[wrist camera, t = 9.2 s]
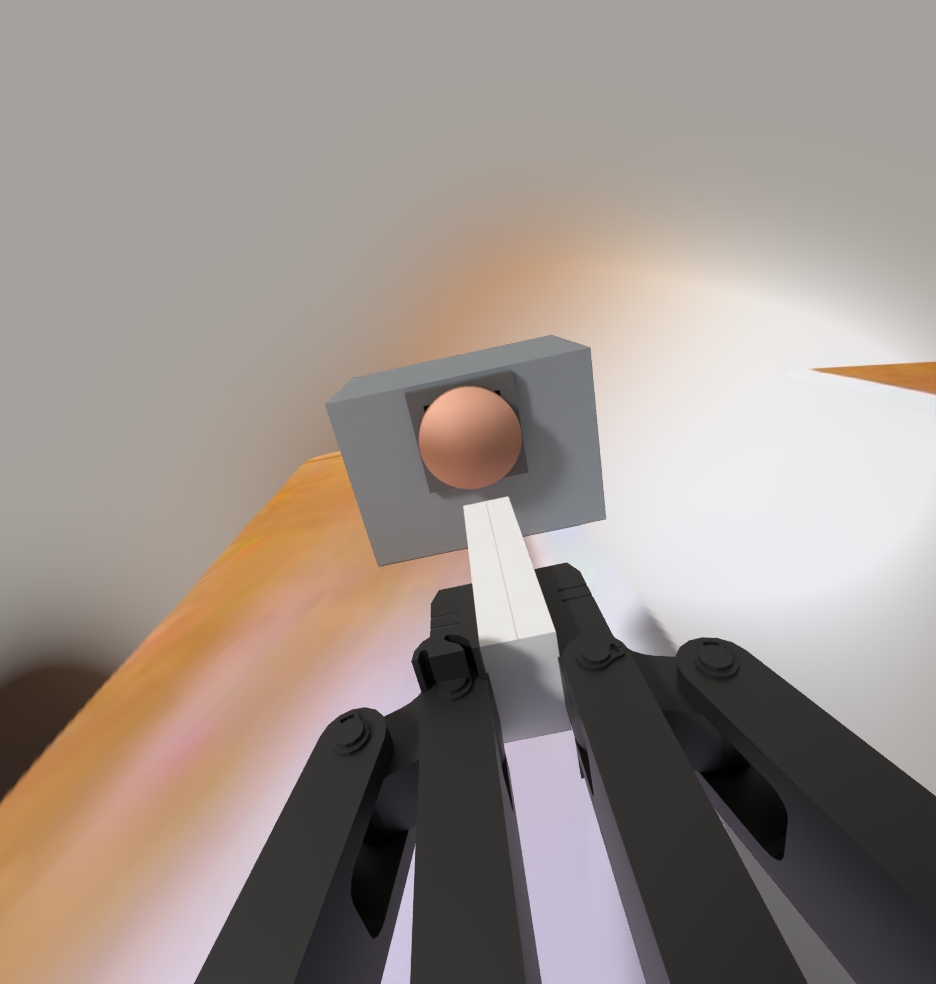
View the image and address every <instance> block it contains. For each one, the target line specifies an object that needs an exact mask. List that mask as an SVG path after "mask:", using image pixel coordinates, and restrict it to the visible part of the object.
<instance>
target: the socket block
mask: <svg viewBox="0 0 936 984" xmlns="http://www.w3.org/2000/svg"><path fill="white" fill-rule="evenodd" d="M461 386H479V387H483V388H487V389H489V390H491V391H493V392H495V393H497V394H498V395H500V396H501V397H502V398H503V399H504V400H505V401H506V402H507V403H508V404H509V406H510V407H511V408H512V410H513V411H514V413H515V415H516V416H517V418H518V421H519V424H520V427H521V433H522V444H521V450H520V453H519V456H518V458H517V460H516V462H515V464H514V465H513V467H512V468H511V470H510V471H509V472H508V473H507V474H506V475H505V476H504V477H503V478H501V479H500V480H498V481H497V482H495V483H493V484H491V485H488V486H486V487H482V488H477V489H461V488H457V487H453V486H450V485H448V484H446V483H444V482H442V481H441V480H439V479H438V478H437V477H435V476H434V475H433V474H432V473H431V472H430V470H429V469H428V468H427V466H426V465H425V463H424V461H423V459H422V456H421V453H420V448H419V432H420V426H421V421H422V418H423V416H424V414H425V412H426V410H427V408H428V407H429V406H430V404H431V403H432V402H433V401H434V400H435V399H436V398H437V397H439V396H440V395H441V394H443V393H445V392H446V391H448V390H451V389H453V388H457V387H461ZM325 405H326V408H327V411H328V415H329V417H330V420H331V423H332V427H333V430H334V433H335V436H336V439H337V442H338V445H339V448H340V451H341V454H342V457H343V460H344V463H345V467H346V470H347V473H348V476H349V479H350V482H351V485H352V488H353V491H354V494H355V497H356V500H357V503H358V506H359V509H360V512H361V515H362V518H363V522H364V525H365V528H366V531H367V534H368V537H369V540H370V543H371V546H372V549H373V552H374V555H375V558H376V561H377V564H378V566H382V565H387V564H392V563H397V562H402V561H407V560H411V559H416V558H421V557H426V556H431V555H436V554H440V553H445V552H450V551H455V550H460V549H465V548H468V542H467V534H466V525H465V517H464V508H463V506H465V505H470V504H475V503H480V502H484V501H489V500H494V499H499V498H503V497H509V499H510V502H511V505H512V508H513V511H514V514H515V517H516V520H517V522H518V525H519V528H520V531H521V534H522V537H523V536H527V535H532V534H537V533H542V532H547V531H552V530H556V529H561V528H566V527H571V526H576V525H581V524H585V523H590V522H595V521H600V520H604V519H606V514H605V503H604V491H603V480H602V469H601V459H600V449H599V448H600V447H599V437H598V426H597V415H596V404H595V393H594V383H593V371H592V361H591V349H590V347H587V346H584V345H581V344H578V343H575V342H572V341H569V340H566V339H562V338H559V337H556V336H554V335H549V336H544V337H539V338H535V339H530V340H526V341H521V342H517V343H512V344H507V345H502V346H498V347H493V348H489V349H484V350H479V351H475V352H470V353H466V354H461V355H456V356H452V357H447V358H442V359H438V360H433V361H429V362H424V363H419V364H415V365H410V366H405V367H401V368H396V369H392V370H387V371H383V372H378V373H373V374H369V375H364V376H360V377H355V378H353V379H352V380H351V381H350V382H349V383H347V384H346V385H345V386H344V387H343V388H342V389H341V390H340V391H339V392H338V393H337V394H336V395H335V396H334V397H333V398H332V399H331V400H330V401H329V402H327V403H326V404H325Z"/></svg>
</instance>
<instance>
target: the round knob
mask: <svg viewBox="0 0 936 984" xmlns="http://www.w3.org/2000/svg"><path fill="white" fill-rule="evenodd" d="M521 444H522V433H521V427H520V424H519V421H518V418H517V416H516V415H515V413H514V411H513V410H512V408H511V407H510V406H509V404H508V403H507V402H506V401H505V400H504V399H503V398H502V397H501V396H500V395H498V394H497V393H495V392H493V391H491V390H489V389H487V388H483V387H479V386H461V387H457V388H453V389H451V390H448V391H446V392H445V393H443V394H441V395H440V396H439V397H437V398H436V399H435V400H434V401H433V402H432V403H431V404H430V406H429V407H428V408H427V410H426V412H425V414H424V416H423V418H422V421H421V426H420V432H419V448H420V453H421V456H422V459H423V461H424V463H425V465H426V466H427V468H428V469H429V470H430V472H431V473H432V474H433V475H434V476H435V477H437V478H438V479H439V480H441V481H442V482H444V483H446V484H448V485H450V486H453V487H457V488H461V489H477V488H482V487H486V486H488V485H491V484H493V483H495V482H497V481H498V480H500V479H501V478H503V477H504V476H505V475H506V474H507V473H508V472H509V471H510V470H511V468H512V467H513V465H514V464H515V462H516V460H517V458H518V456H519V453H520V450H521Z"/></svg>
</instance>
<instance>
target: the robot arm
mask: <svg viewBox="0 0 936 984" xmlns="http://www.w3.org/2000/svg"><path fill="white" fill-rule="evenodd" d="M463 508H464V517H465V525H466V534H467V542H468V551H469V560H470V568H471V577H472V584H467V585H462V586H457V587H452V588H448V589H443V590H439V591H438V593H437V594H436V596H435V598H434V599H433V601H432V603H431V631H430V637H429V638H428V639H426V640H425V641H423V642H422V643H421V644H420V645H419V646H418V648H417V649H416V650H415V651H414V654H413V658H412V665H413V668H414V671H415V674H416V677H417V680H418V683H419V686H420V689H421V693H420V694H419V696H418V697H416V698H415V699H414V700H413V701H412V702H411V703H409V704H407V705H406V706H404V707H402V708H401V709H399V710H397V711H395V712H393V713H391V714H388V715H386V716H383V715H382V714H380V713H379V712H378V711H377V710H375V709H370V708H365V707H364V708H358V709H352V710H350V711H348V712H346V713H344V714H342V715H340V716H339V717H337V718H336V719H335V720H334V721H333V722H331V723H330V724H329V725H328V726H327V728H326V729H325V730H324V732H323V733H322V735H321V736H320V738H319V740H318V742H317V744H316V746H315V748H314V749H313V751H312V753H311V755H310V757H309V759H308V761H307V763H306V765H305V767H304V769H303V771H302V773H301V775H300V777H299V779H298V781H297V783H296V785H295V787H294V789H293V791H292V793H291V795H290V797H289V798H288V800H287V802H286V804H285V806H284V808H283V810H282V812H281V814H280V816H279V818H278V820H277V822H276V824H275V826H274V828H273V830H272V832H271V834H270V836H269V838H268V840H267V842H266V844H265V846H264V847H263V849H262V851H261V853H260V855H259V857H258V859H257V861H256V863H255V865H254V867H253V869H252V871H251V873H250V875H249V877H248V879H247V881H246V883H245V885H244V887H243V889H242V891H241V893H240V895H239V896H238V898H237V900H236V902H235V904H234V906H233V908H232V910H231V912H230V914H229V916H228V918H227V920H226V922H225V924H224V926H223V928H222V930H221V932H220V934H219V936H218V938H217V940H216V942H215V944H214V945H213V947H212V949H211V951H210V953H209V955H208V957H207V959H206V961H205V963H204V965H203V967H202V969H201V971H200V973H199V975H198V977H197V979H196V981H195V983H194V984H381V980H382V976H383V972H384V968H385V964H386V960H387V956H388V952H389V948H390V944H391V940H392V936H393V932H394V928H395V924H396V920H397V916H398V912H399V908H400V904H401V900H402V896H403V892H404V888H405V884H406V880H407V876H408V872H409V868H410V864H411V860H412V855H413V851H414V847H415V843H416V849H415V874H414V900H413V925H412V950H411V976H410V984H542V982H541V976H540V969H539V962H538V956H537V949H536V943H535V936H534V930H533V923H532V916H531V910H530V903H529V897H528V890H527V883H526V877H525V870H524V864H523V857H522V851H521V844H520V837H519V831H518V824H517V818H516V811H515V805H514V798H513V791H512V785H511V778H510V772H509V766H508V762H507V758H506V754H505V749H504V743H508V742H513V741H518V740H523V739H528V738H533V737H538V736H543V735H548V734H553V733H558V732H563V731H568V730H571V726H572V729H573V732H574V736H575V742H576V748H577V754H578V760H579V767H580V773H581V779H582V778H585V781H586V784H587V787H588V791H589V794H590V797H591V801H592V804H593V807H594V811H595V814H596V817H597V821H598V824H599V827H600V831H601V834H602V837H603V841H604V844H605V847H606V851H607V854H608V857H609V861H610V864H611V867H612V871H613V874H614V877H615V881H616V884H617V887H618V891H619V894H620V897H621V901H622V904H623V907H624V911H625V914H626V917H627V921H628V924H629V927H630V931H631V934H632V937H633V941H634V944H635V947H636V951H637V954H638V957H639V960H640V964H641V967H642V970H643V974H644V977H645V980H646V984H808V983H807V981H806V980H805V978H804V976H803V974H802V972H801V970H800V968H799V966H798V965H797V963H796V961H795V959H794V957H793V955H792V953H791V952H790V950H789V948H788V946H787V944H786V942H785V940H784V938H783V937H782V935H781V933H780V931H779V929H778V927H777V925H776V923H775V922H774V920H773V918H772V916H771V914H770V912H769V910H768V909H767V907H766V905H765V903H764V901H763V899H762V897H761V895H760V894H759V892H758V890H757V888H756V886H755V884H754V882H753V880H752V879H751V877H750V875H749V873H748V871H747V869H746V867H745V866H744V864H743V862H742V860H741V858H740V856H739V854H738V852H737V851H736V849H735V847H734V845H733V843H732V841H731V839H730V838H729V836H728V834H727V832H726V830H725V828H724V826H723V824H722V823H721V821H720V819H719V817H718V815H717V813H716V811H715V809H716V810H717V812H718V813H719V814H720V815H721V817H722V818H723V819H724V820H725V822H726V823H727V824H728V825H729V827H730V828H731V829H732V830H733V831H734V833H735V834H736V835H737V836H738V838H739V839H740V840H741V841H742V843H743V844H744V845H745V846H746V847H747V849H748V850H749V851H750V852H751V854H752V855H753V856H754V857H755V859H756V860H757V861H758V862H759V863H760V865H761V866H762V867H763V868H764V870H765V871H766V872H767V873H768V875H769V876H770V877H771V878H772V879H773V881H774V882H775V883H776V884H777V886H778V887H779V888H780V889H781V891H782V892H783V893H784V894H785V896H786V897H787V898H788V899H789V900H790V902H791V903H792V904H793V905H794V907H795V908H796V909H797V910H798V912H799V913H800V914H801V915H802V916H803V918H804V919H805V920H806V921H807V923H808V924H809V925H810V926H811V928H812V929H813V930H814V931H815V932H816V934H817V935H818V936H819V937H820V939H821V940H822V941H823V942H824V944H825V945H826V946H827V947H828V948H829V950H830V951H831V952H832V953H833V955H834V956H835V957H836V958H837V960H838V961H839V962H840V963H841V965H842V966H843V967H844V968H845V969H846V971H847V972H848V973H849V974H850V976H851V977H852V978H853V979H854V981H855V982H856V983H857V984H936V796H935V795H933V794H932V793H931V792H929V791H928V790H927V789H926V788H924V787H923V786H922V785H920V784H919V783H918V782H916V781H915V780H914V779H913V778H911V777H910V776H909V775H907V774H906V773H905V772H904V771H902V770H901V769H899V768H898V767H897V766H896V765H894V764H893V763H892V762H890V761H889V760H888V759H887V758H885V757H884V756H883V755H881V754H880V753H879V752H877V751H876V750H875V749H874V748H872V747H871V746H870V745H868V744H867V743H866V742H865V741H863V740H862V739H861V738H859V737H858V736H857V735H855V734H854V733H853V732H851V731H850V730H849V729H847V728H846V727H845V726H844V725H842V724H841V723H840V722H839V721H837V720H836V719H834V718H833V717H832V716H831V715H829V714H828V713H827V712H825V711H824V710H823V709H822V708H820V707H819V706H818V705H816V704H815V703H814V702H813V701H811V700H810V699H809V698H807V697H806V696H805V695H803V694H802V693H801V692H799V691H798V690H797V689H796V688H794V687H793V686H792V685H790V684H789V683H788V682H786V681H785V680H784V679H783V678H781V677H780V676H779V675H777V674H776V673H775V672H774V671H772V670H771V669H770V668H768V667H767V666H766V665H764V664H763V663H762V662H761V661H759V660H758V659H757V658H755V657H754V656H753V655H752V654H750V653H749V652H748V651H746V650H745V649H743V648H741V647H740V646H738V645H736V644H734V643H732V642H729V641H725V640H722V639H719V638H698V639H694V640H690V641H688V642H687V643H685V644H684V645H682V646H681V647H680V648H679V650H678V652H677V654H676V657H666V656H652V655H644V654H640V653H637V652H634V651H632V650H630V649H628V648H627V647H626V646H625V645H624V644H623V642H621V641H620V640H618V639H616V638H615V637H614V636H613V635H612V633H611V631H610V629H609V627H608V625H607V623H606V621H605V619H604V617H603V615H602V613H601V611H600V609H599V607H598V605H597V604H596V602H595V600H594V598H593V597H592V594H591V592H590V590H589V588H588V586H587V585H586V582H585V580H584V578H583V576H582V574H581V572H580V571H579V570H577V569H576V568H574V567H573V566H571V565H570V564H568V563H562V564H557V565H552V566H548V567H543V568H538V569H534V568H533V565H532V562H531V560H530V557H529V554H528V551H527V548H526V545H525V542H524V540H523V537H522V534H521V531H520V528H519V525H518V522H517V520H516V517H515V514H514V511H513V508H512V505H511V502H510V499H509V497H503V498H499V499H494V500H489V501H484V502H480V503H475V504H470V505H465V506H463ZM713 807H714V808H715V809H714V808H713Z"/></svg>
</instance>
